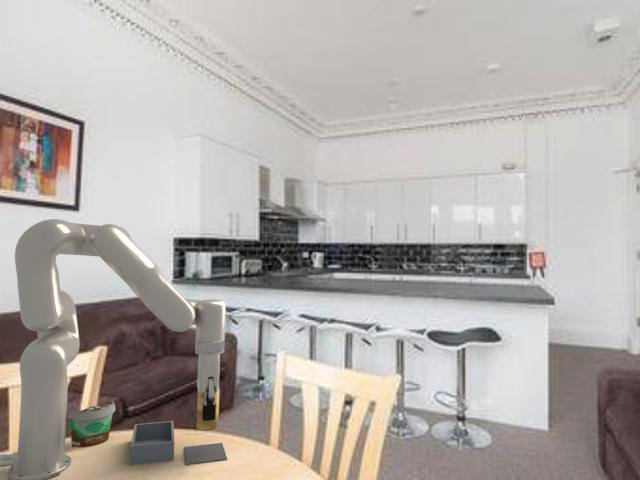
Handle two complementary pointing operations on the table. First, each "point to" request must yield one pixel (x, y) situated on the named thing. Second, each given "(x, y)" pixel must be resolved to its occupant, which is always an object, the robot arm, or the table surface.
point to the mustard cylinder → (200, 423)
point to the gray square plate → (205, 453)
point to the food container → (91, 425)
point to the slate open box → (152, 443)
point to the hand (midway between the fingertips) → (207, 415)
